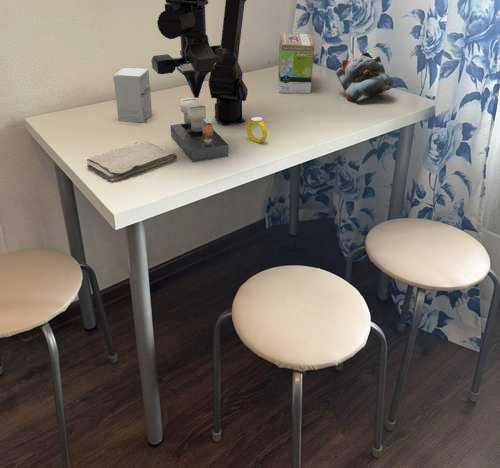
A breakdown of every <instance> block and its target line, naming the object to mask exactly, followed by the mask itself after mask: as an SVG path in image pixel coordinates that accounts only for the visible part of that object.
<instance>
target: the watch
mask: <svg viewBox="0 0 500 468" xmlns="http://www.w3.org/2000/svg"><path fill="white" fill-rule="evenodd" d="M250 119H251V120H249V121H248V122H247V125H246V132H247V136H248V138H249V140H250V141H253V142H255V143H258V144H261V143H263V142H265V141H266V139H267V136H268V130H267V127H266V123H264V121H263V118H262V117H260V116H254V117H251V118H250ZM253 124H258V125H259V126H260V129H261V133H262V136H261V139H259V138H256V137H255V136H254V135H255V134H254V133H253V130H252V127H253V126H252V125H253Z"/></svg>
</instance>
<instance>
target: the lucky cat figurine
mask: <svg viewBox="0 0 500 468" xmlns="http://www.w3.org/2000/svg"><path fill="white" fill-rule="evenodd" d="M385 70H386V69H385V67H384V64H383V63H382V60H381V57H380V56H379V55H375V56H374V57H372V56H371V54H370V53H369V52H366V51H365V52H364V53H362V55H358V56H355V57H353V58H352V59H351V60H348V59H343V60H342V62H341V65H340V66H339V68H338V69H337V70H336V71H335V74H336V77H337V79H338V82H340V85H341V87H342V89H343V91H344V93H345V98H346V99H347V101H348V102H351V103H354V104H356V103H358V102H360V101H363V100H365V99H368V98H371V97H374V96H376V95H379V94H382V93H384V92H386V91H390V90H392V89H393V87H394V83H393V79H392V78H391V76H390V75H389V74H387V73H386V71H385Z"/></svg>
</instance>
